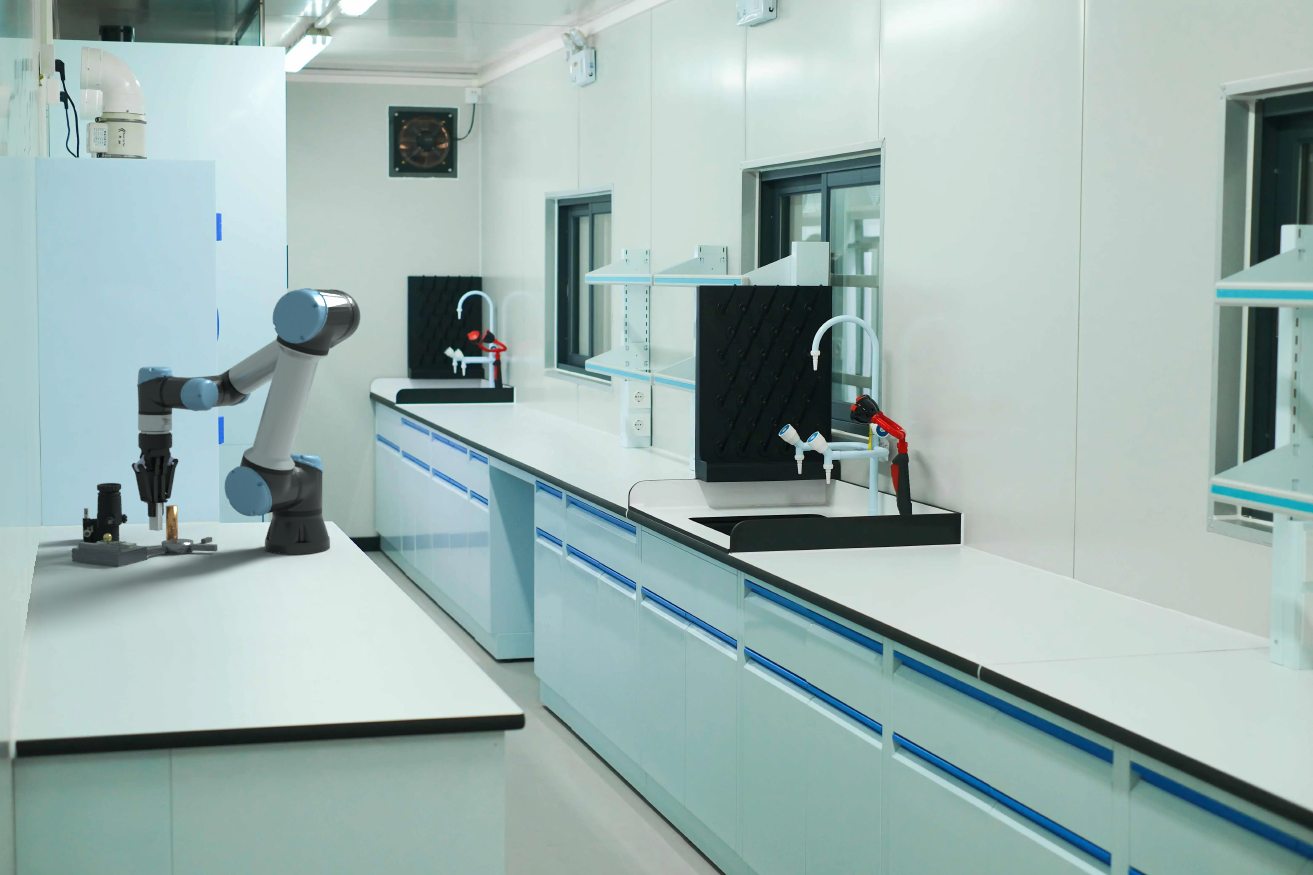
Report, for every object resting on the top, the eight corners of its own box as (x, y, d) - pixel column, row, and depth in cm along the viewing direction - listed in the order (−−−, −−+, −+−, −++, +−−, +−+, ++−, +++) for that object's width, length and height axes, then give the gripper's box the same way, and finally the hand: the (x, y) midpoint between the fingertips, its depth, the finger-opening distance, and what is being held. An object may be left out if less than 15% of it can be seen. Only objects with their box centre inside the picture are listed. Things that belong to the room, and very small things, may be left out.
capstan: (218, 552, 300) (217, 513, 299) (142, 557, 292) (141, 518, 291) (207, 540, 314) (206, 503, 313) (134, 545, 306) (133, 507, 305)
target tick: (205, 543, 311) (205, 539, 311) (201, 543, 312) (201, 539, 311) (212, 541, 314) (212, 537, 314) (207, 540, 314) (207, 536, 314)
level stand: (147, 559, 292) (146, 535, 291) (118, 567, 283) (118, 542, 283) (101, 554, 296) (101, 530, 296) (72, 561, 288) (71, 537, 287)
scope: (81, 482, 311) (125, 481, 316) (82, 538, 313) (126, 536, 317) (81, 488, 304) (127, 486, 308) (83, 545, 306) (128, 542, 310)
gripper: (147, 435, 296) (147, 535, 298) (187, 430, 308) (187, 527, 310) (122, 433, 298) (123, 532, 301) (162, 428, 310) (163, 524, 313)
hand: (155, 529), depth 306 cm, fingers closed
